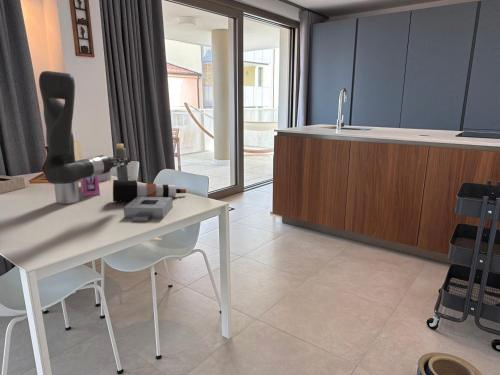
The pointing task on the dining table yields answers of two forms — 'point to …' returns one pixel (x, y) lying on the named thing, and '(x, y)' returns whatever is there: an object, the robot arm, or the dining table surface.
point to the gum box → (90, 186)
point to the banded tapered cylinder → (141, 190)
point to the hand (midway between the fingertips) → (125, 159)
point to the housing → (148, 208)
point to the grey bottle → (121, 171)
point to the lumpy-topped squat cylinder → (105, 176)
